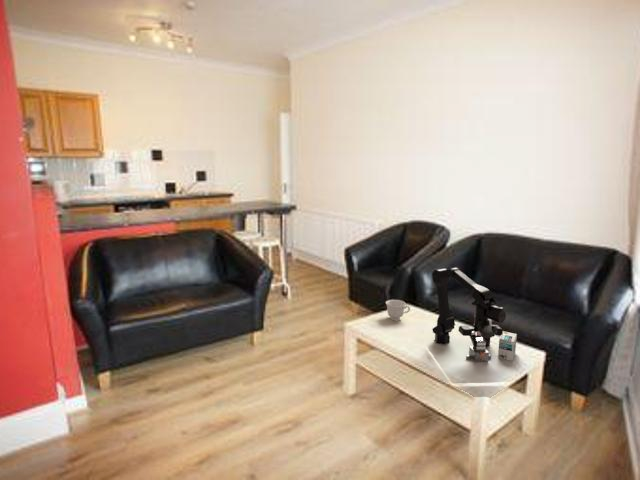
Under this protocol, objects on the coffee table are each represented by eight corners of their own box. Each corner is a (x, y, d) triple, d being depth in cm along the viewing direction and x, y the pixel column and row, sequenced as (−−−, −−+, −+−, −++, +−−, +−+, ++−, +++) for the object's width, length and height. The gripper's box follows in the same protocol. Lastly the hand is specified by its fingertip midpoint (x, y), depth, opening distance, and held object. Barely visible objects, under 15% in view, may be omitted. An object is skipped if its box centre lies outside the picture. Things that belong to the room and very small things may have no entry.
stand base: (470, 367, 181) (471, 355, 180) (460, 355, 193) (461, 343, 192) (496, 367, 182) (497, 354, 181) (484, 354, 193) (485, 343, 192)
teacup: (405, 325, 229) (406, 308, 227) (381, 319, 237) (382, 304, 235) (412, 318, 239) (413, 302, 237) (390, 313, 247) (390, 298, 245)
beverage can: (492, 348, 199) (494, 320, 197) (479, 349, 199) (481, 321, 196) (485, 343, 206) (488, 315, 203) (473, 343, 205) (475, 316, 203)
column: (475, 360, 185) (477, 341, 183) (472, 356, 189) (473, 337, 187) (484, 360, 185) (486, 341, 183) (480, 356, 189) (482, 337, 187)
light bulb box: (512, 363, 185) (514, 341, 183) (497, 359, 188) (498, 338, 186) (515, 354, 194) (517, 333, 192) (500, 350, 197) (502, 330, 195)
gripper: (468, 323, 175) (466, 355, 178) (510, 322, 176) (507, 354, 178) (459, 313, 186) (457, 344, 189) (498, 313, 186) (495, 343, 189)
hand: (479, 347), depth 186 cm, fingers closed on column, 4 cm apart
